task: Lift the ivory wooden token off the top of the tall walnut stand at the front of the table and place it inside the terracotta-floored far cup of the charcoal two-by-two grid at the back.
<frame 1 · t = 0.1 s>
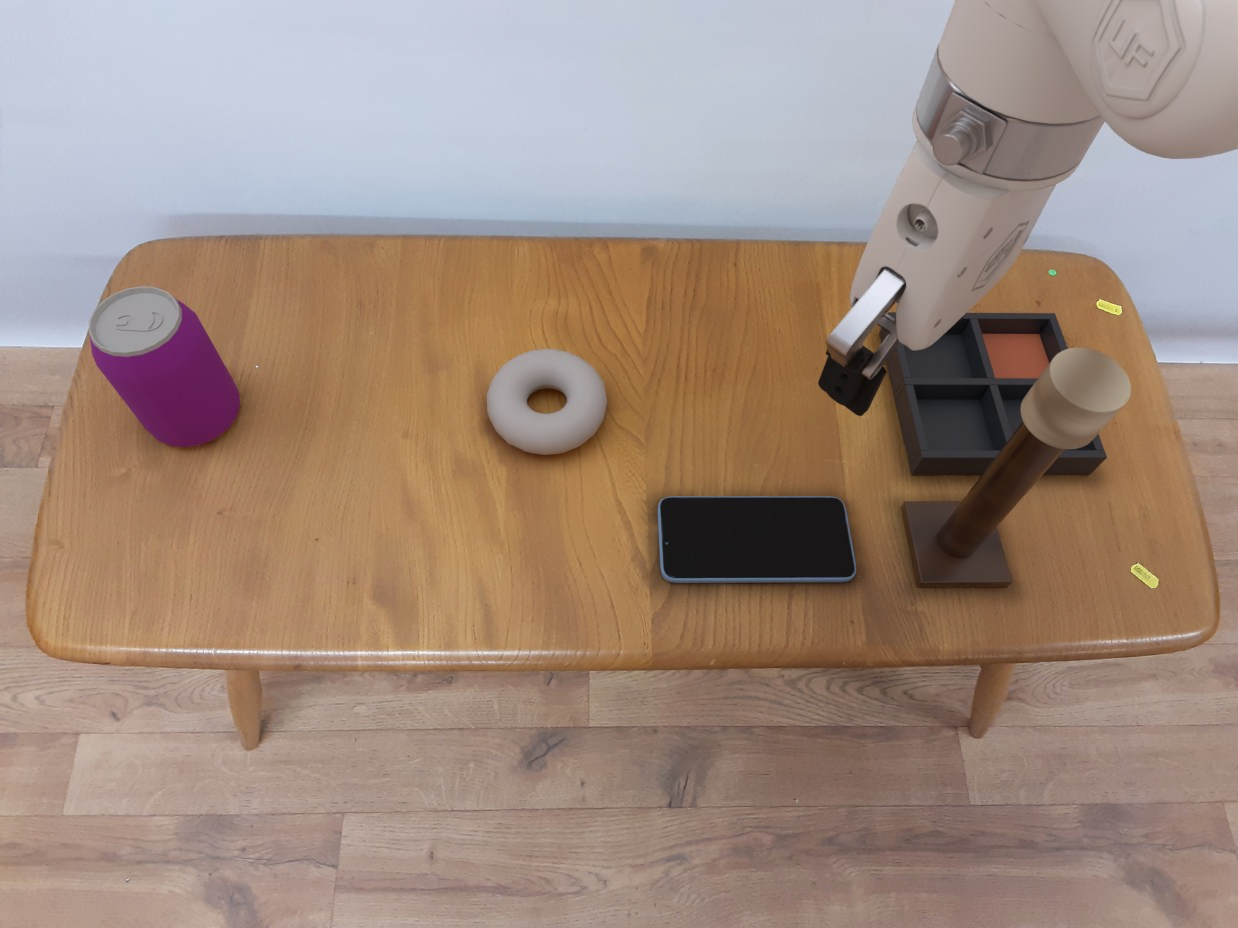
hand: (891, 352, 53), 21 cm above the table, tool pointing down, fingers open, 9 cm apart
grid: (979, 400, 77), on the table
beverage can: (197, 415, 73), on the table
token: (1058, 417, 54), point 18 cm above the table, touching stand
smartphone: (753, 541, 69), on the table
stand: (952, 546, 69), on the table
donut: (547, 413, 75), on the table
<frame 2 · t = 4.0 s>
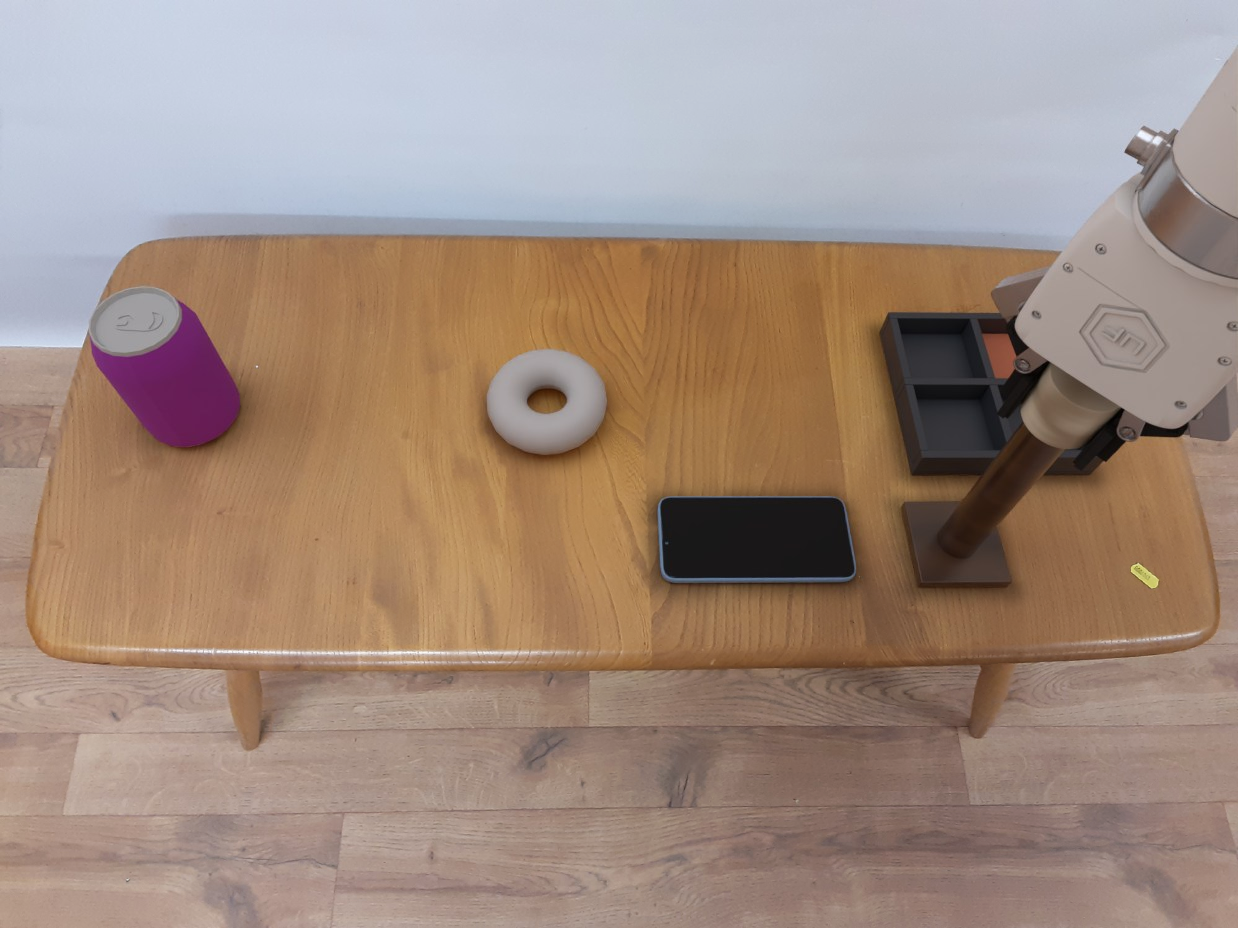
hand: (1050, 427, 55), 17 cm above the table, tool pointing down, fingers closed on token, 4 cm apart
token: (1058, 417, 54), point 18 cm above the table, touching gripper, stand
everything else where it was.
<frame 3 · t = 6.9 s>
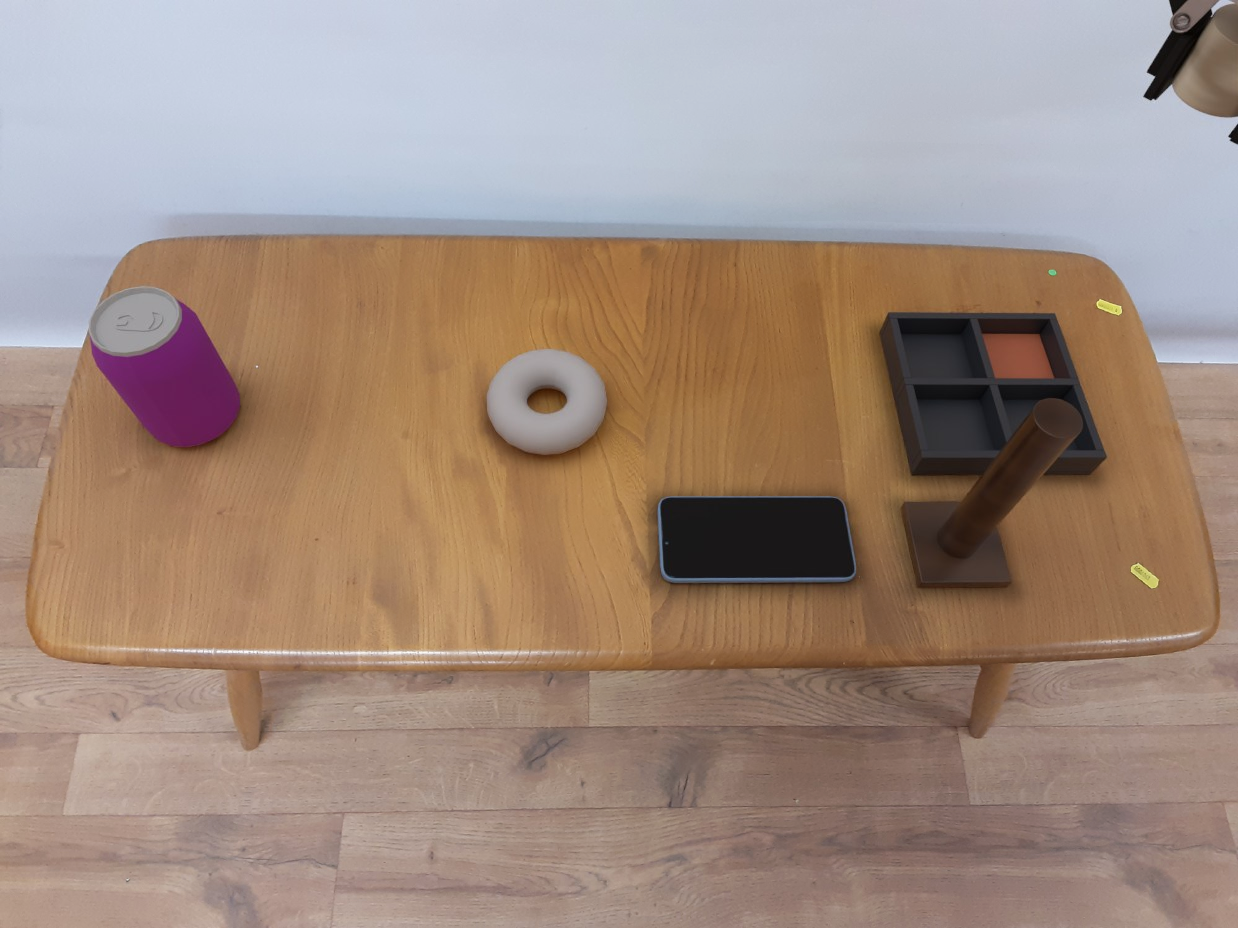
hand: (1201, 107, 52), 29 cm above the table, tool pointing down, fingers closed on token, 4 cm apart
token: (1212, 92, 51), point 30 cm above the table, touching gripper
everything else where it was.
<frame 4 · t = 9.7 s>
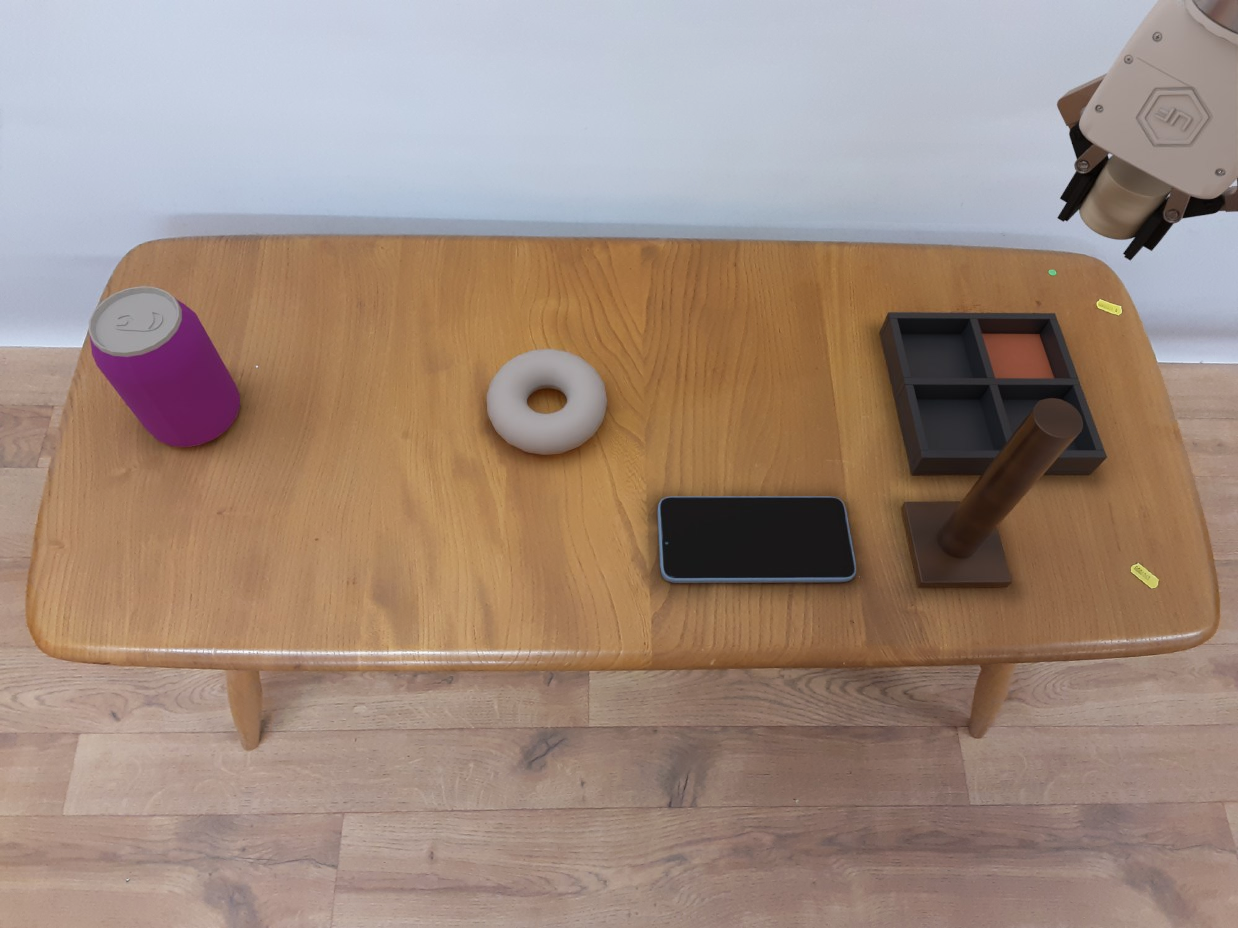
hand: (1103, 228, 65), 17 cm above the table, tool pointing down, fingers closed on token, 4 cm apart
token: (1111, 217, 64), point 18 cm above the table, touching gripper
everything else where it was.
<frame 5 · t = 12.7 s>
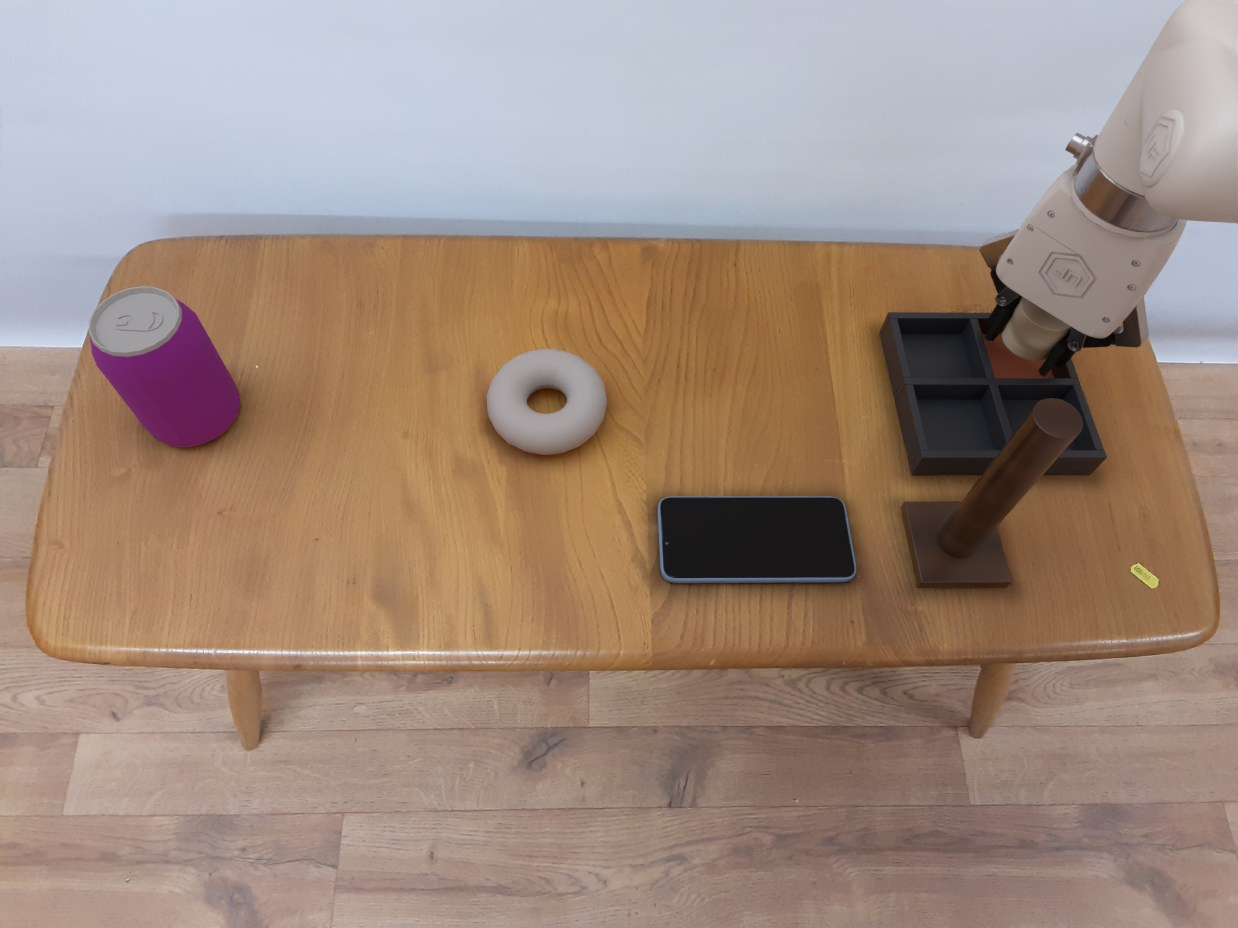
hand: (1023, 347, 77), 3 cm above the table, tool pointing down, fingers closed on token, 4 cm apart
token: (1028, 339, 76), point 4 cm above the table, touching gripper
everything else where it was.
when the fingers open (3 cm above the table, at t = 15.5 s): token drops 3 cm, resting on grid.
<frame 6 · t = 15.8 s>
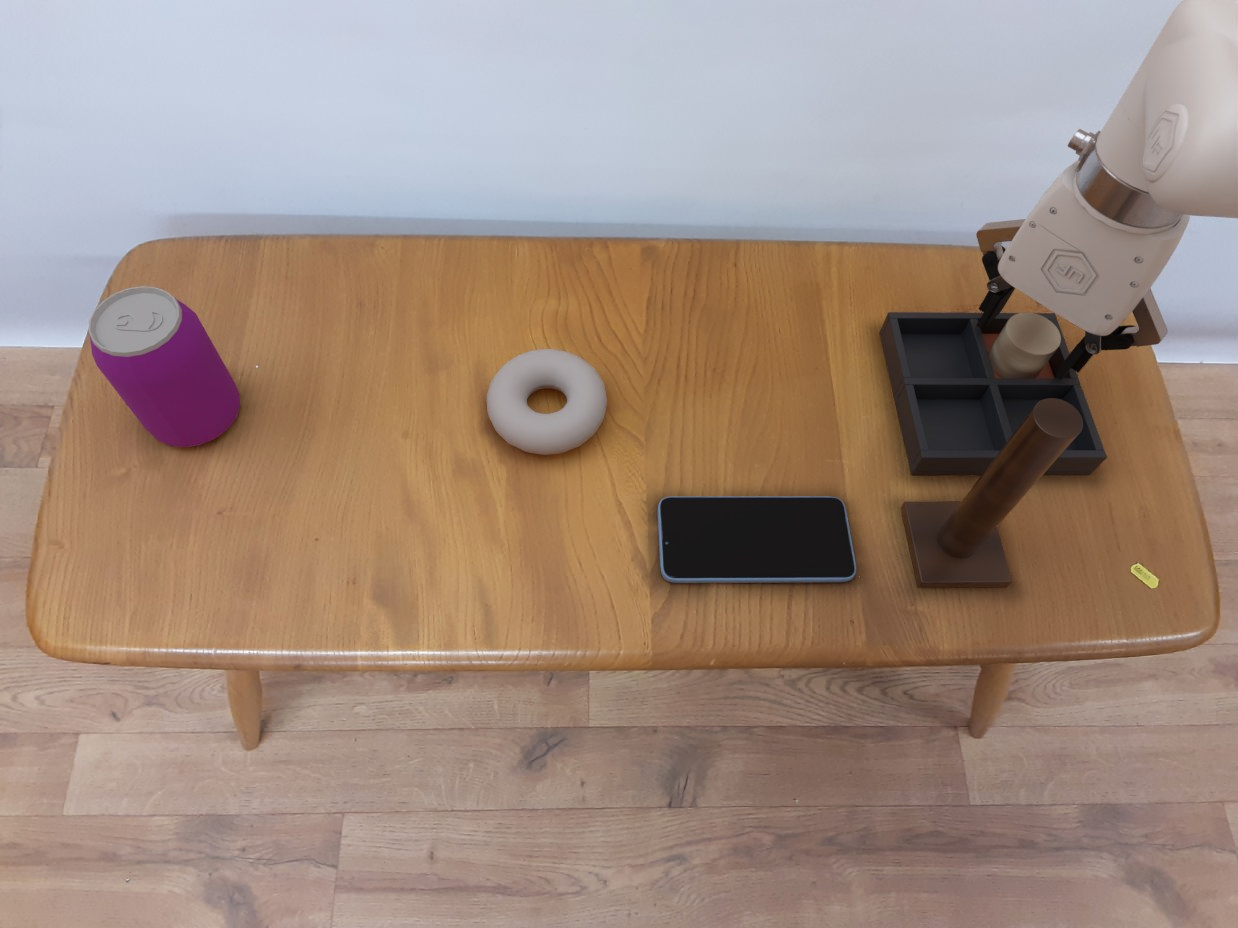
hand: (1026, 342, 76), 4 cm above the table, tool pointing down, fingers open, 7 cm apart
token: (1013, 362, 78), point 1 cm above the table, touching grid
everything else where it was.
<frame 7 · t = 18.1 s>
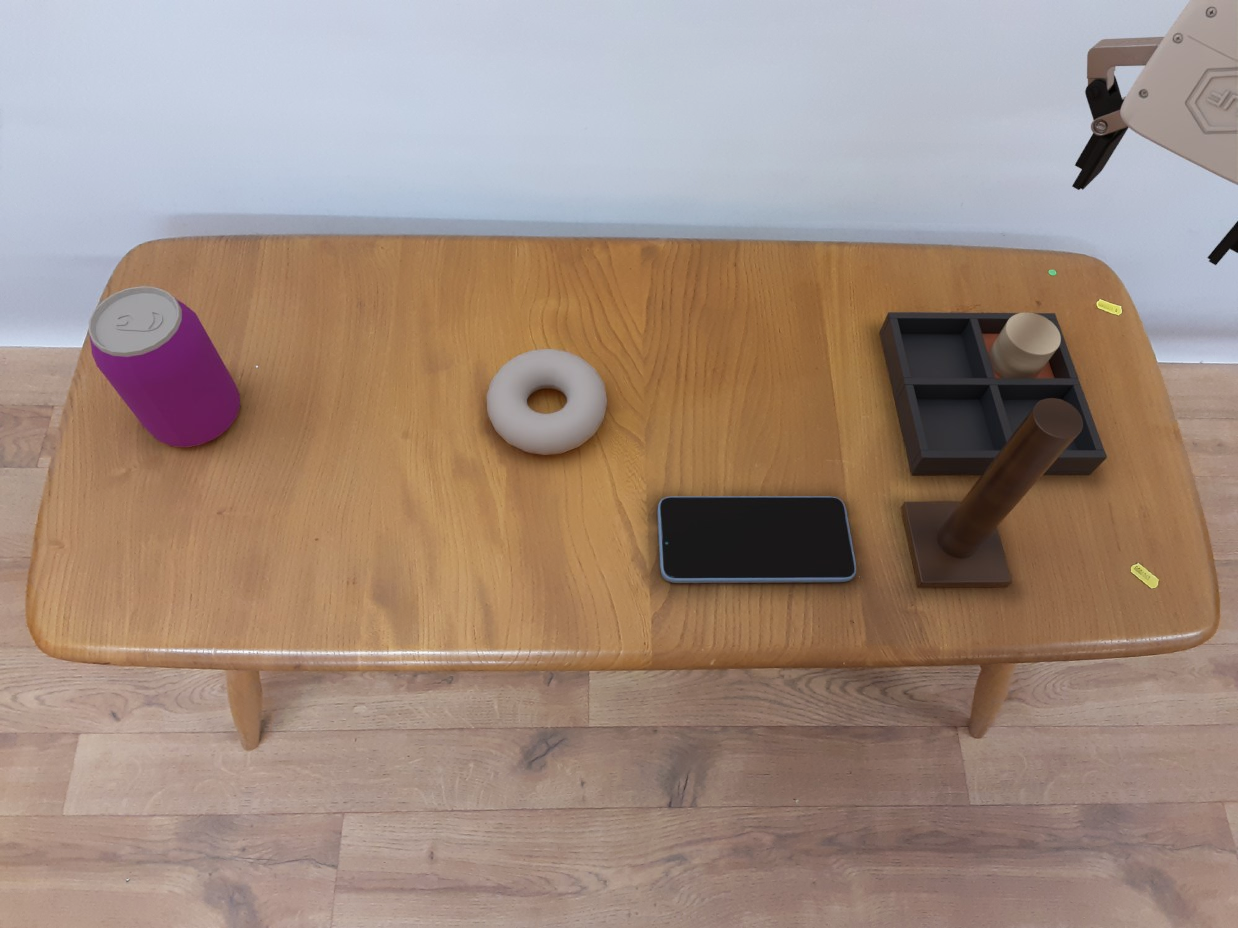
hand: (1150, 215, 59), 21 cm above the table, tool pointing down, fingers open, 9 cm apart
nothing on the table moved.
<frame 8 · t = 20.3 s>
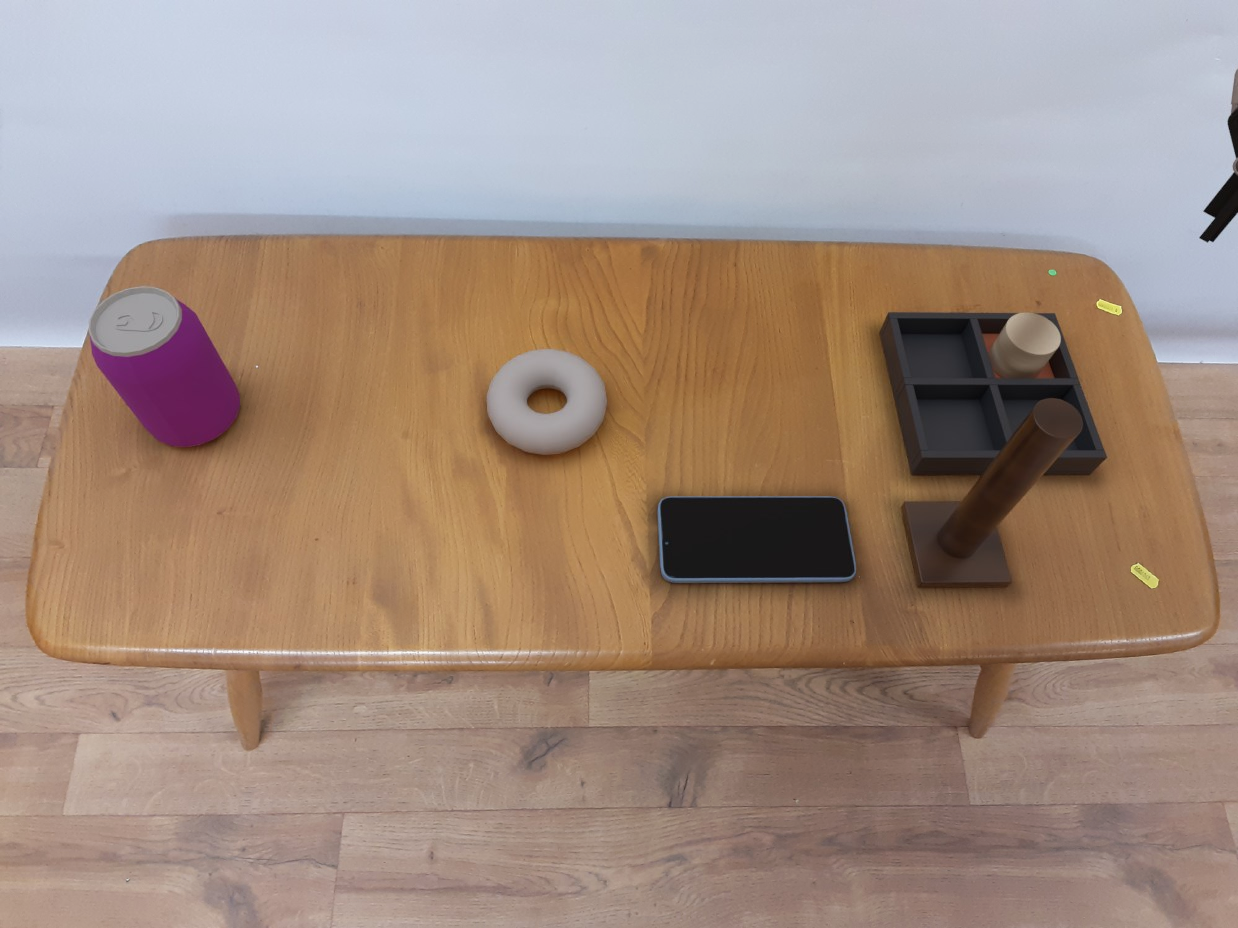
nothing on the table moved.
at the end: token 0.0 cm from the target spot in the grid, point 0.8 cm above the grid's base; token tilted 0° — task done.
